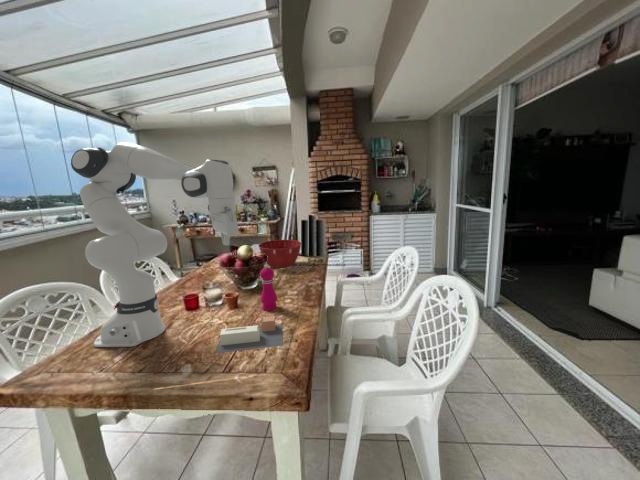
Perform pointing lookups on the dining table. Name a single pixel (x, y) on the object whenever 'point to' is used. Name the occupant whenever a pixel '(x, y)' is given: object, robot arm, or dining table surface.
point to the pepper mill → (268, 289)
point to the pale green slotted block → (240, 335)
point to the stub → (268, 323)
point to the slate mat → (256, 345)
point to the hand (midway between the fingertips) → (226, 244)
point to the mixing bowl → (280, 252)
